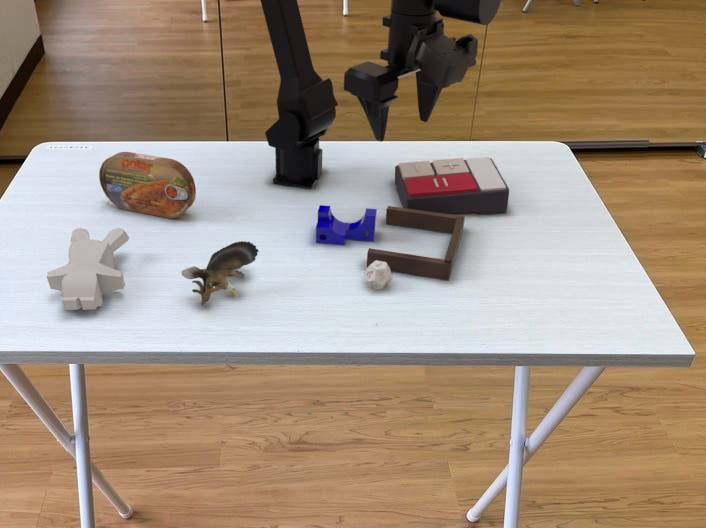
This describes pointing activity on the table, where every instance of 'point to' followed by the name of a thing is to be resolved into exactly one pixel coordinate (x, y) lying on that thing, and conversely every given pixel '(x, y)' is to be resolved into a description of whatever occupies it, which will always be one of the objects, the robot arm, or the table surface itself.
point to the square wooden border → (414, 262)
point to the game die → (378, 274)
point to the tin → (147, 184)
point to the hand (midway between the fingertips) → (402, 130)
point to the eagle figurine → (222, 269)
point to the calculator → (452, 186)
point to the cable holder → (344, 227)
